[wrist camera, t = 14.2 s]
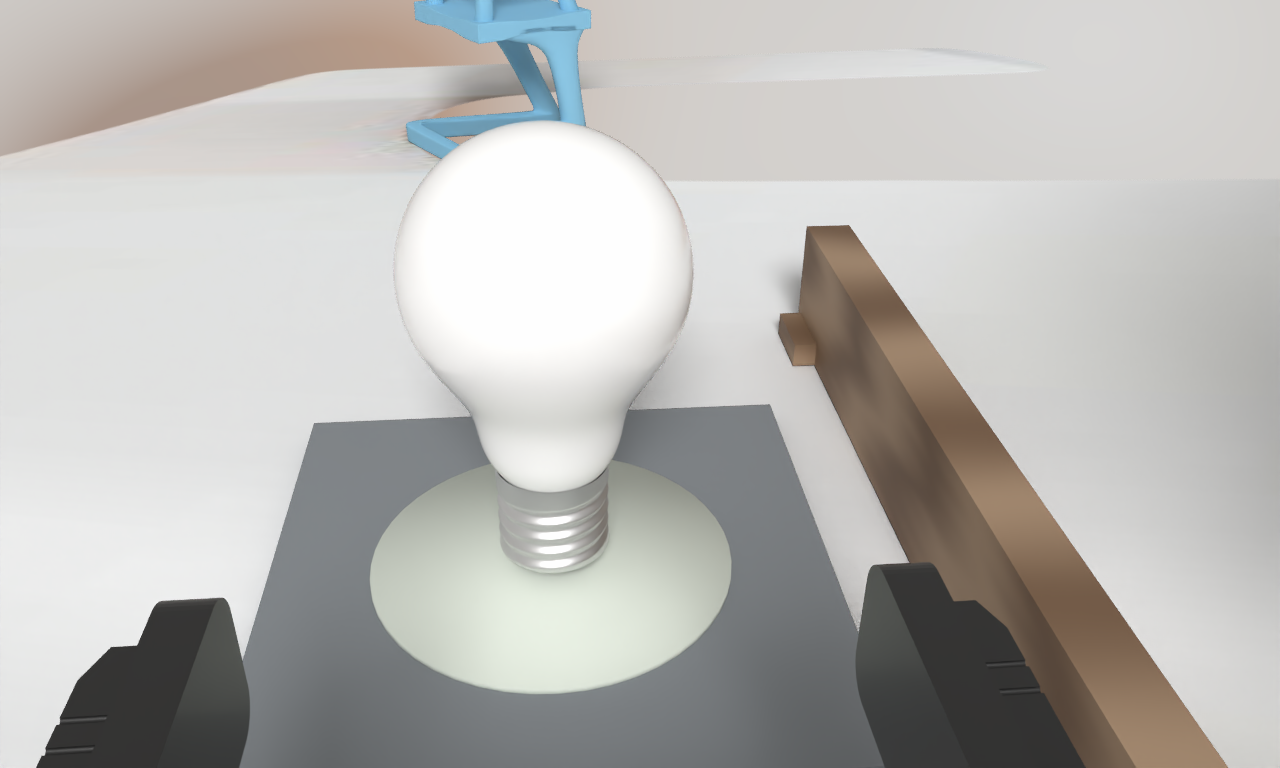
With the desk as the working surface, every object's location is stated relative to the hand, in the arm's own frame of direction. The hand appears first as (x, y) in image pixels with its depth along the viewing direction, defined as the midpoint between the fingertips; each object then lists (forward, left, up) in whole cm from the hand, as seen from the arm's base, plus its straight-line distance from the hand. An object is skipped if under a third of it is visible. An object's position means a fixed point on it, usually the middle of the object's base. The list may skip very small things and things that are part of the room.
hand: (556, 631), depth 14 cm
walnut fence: (-15, +1, -8) cm, 17 cm away
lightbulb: (-8, -7, -8) cm, 14 cm away
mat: (-9, -7, -8) cm, 14 cm away
